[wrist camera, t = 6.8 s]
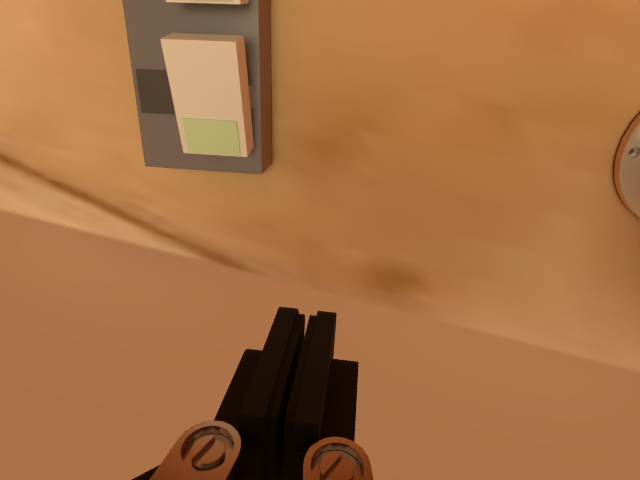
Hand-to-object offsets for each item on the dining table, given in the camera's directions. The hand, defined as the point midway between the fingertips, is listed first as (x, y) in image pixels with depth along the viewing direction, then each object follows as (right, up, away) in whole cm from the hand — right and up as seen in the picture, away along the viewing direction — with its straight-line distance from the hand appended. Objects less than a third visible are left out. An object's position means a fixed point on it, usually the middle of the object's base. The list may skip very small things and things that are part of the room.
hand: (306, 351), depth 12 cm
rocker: (-7, +14, +18) cm, 23 cm away
